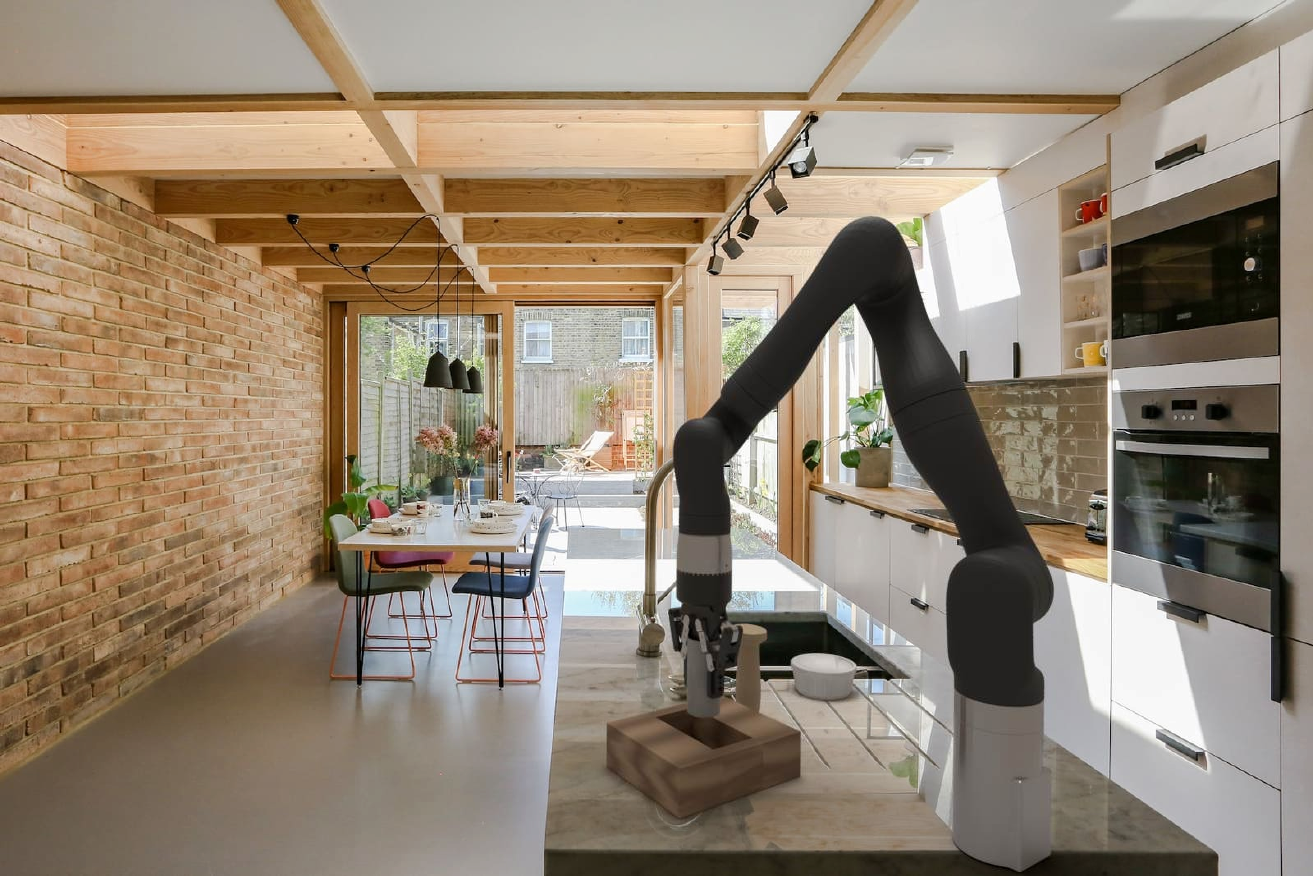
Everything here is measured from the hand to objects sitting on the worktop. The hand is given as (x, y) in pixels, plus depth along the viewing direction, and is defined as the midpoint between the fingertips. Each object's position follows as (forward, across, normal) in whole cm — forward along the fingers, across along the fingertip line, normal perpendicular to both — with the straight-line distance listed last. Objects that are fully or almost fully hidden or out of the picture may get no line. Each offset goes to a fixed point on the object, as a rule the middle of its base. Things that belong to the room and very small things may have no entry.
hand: (703, 691), depth 105 cm
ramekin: (+11, +13, -37) cm, 41 cm away
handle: (+11, +9, -16) cm, 21 cm away
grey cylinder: (+3, 0, 0) cm, 3 cm away
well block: (+11, 0, 0) cm, 11 cm away
